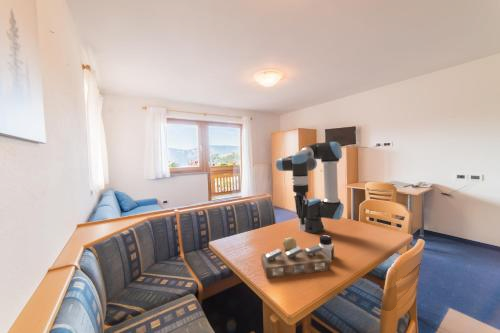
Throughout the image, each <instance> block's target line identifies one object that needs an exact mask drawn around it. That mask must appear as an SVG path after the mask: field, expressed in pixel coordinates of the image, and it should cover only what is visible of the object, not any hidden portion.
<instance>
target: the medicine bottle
mask: <svg viewBox="0 0 500 333" xmlns="http://www.w3.org/2000/svg"><path fill="white" fill-rule="evenodd" d="M332 240H333V239H332V237H331V236H330V235H324V234H323V235H320V236H319V243H318V245H319V246H320V247H322V251H321V252H323V253H324V254H325V255H326V256H327V257H328V258H329V259H330V263H332V262H333V260H334V259H335V258H334V257H335V250H334V249H335V245H334V243H333V242H332Z"/></svg>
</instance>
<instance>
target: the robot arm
mask: <svg viewBox="0 0 500 333" xmlns="http://www.w3.org/2000/svg"><path fill="white" fill-rule="evenodd" d="M342 157H343V152H342V147H341V144H340V143H339V142H338V141H328V142H326V141H325V142H316V143H312V144H309V145H306V146H305V147H303V148H302V149H301V150H300V151H297V152H296V153H293V154H290V155H289V156H286V157H281V158H278V159H276V162H275V167H276V169H277V170H278V171H281V172H292V178H291V180H292V184H293V185H292V191H293V192H294V193H295V195H294V196H293V198H294V203H295V211H296V212H295V213H296V215H297V217H298V230H299V231H300V232H302V231H304V232H307V233H309V234H321V233H324V232H325V227H324V223H323V221H322V218H323V219H329V220H333V221H339V220H341V219H342V217H343V214H344V207H345V206H344V203H343V202H341V199H340V198H339V189H338V187H339V186H338V163H339V162H340V159H342ZM317 160H321V161H320V162H321V163H322V164H323V183H324V184H323V185H324V198H322V199H321V198H318V197H317V198H309V199H307V193H308V192H309V174H308V172H310V171H314V170H315V169H316V168H317V166H318V161H317Z"/></svg>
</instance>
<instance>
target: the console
mask: <svg viewBox="0 0 500 333" xmlns="http://www.w3.org/2000/svg"><path fill="white" fill-rule="evenodd" d="M305 249H306V248H304V249H302V251H303V252H301V253H299V254H297V255H295V256H292V257H290V258H288V257H287V255H286V252H287V251H288V250H287V251H282V254H281V255H279V256H277V257H275V258H273V259H271V260H269V261H268V260H267V257H266V254H267V253H262V254H260V259H261V266H262V269H263V272H264V274H265V277H266V279H269V278H279V277H284V276H285V277H286V276H294V275H301V274H302V275H303V274H309V273H317V272H323V271H324V272H325V271H331V262H330V259H329V258H328V257H327V256H326V255H325V254H324V253H323V252H321V251H319V252H316V253H313V254H309V255H307V253H306V252H305Z"/></svg>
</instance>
